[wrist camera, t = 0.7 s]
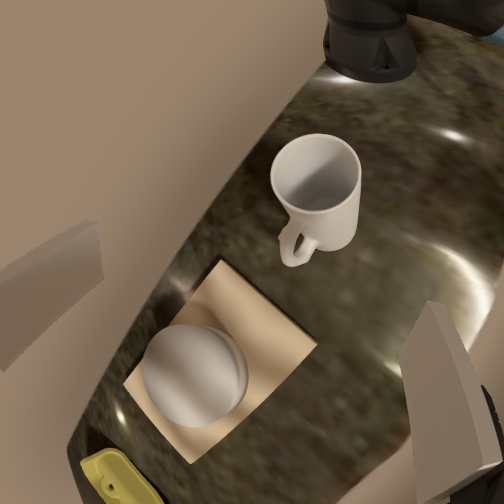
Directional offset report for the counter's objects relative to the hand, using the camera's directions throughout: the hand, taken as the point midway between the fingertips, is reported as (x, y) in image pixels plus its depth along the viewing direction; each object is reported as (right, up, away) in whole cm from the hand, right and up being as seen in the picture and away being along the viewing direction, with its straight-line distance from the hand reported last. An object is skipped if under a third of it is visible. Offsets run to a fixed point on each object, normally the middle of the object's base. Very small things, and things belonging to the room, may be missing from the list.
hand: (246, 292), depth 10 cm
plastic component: (-17, -38, +19) cm, 46 cm away
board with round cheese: (-5, -12, +21) cm, 25 cm away
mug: (+8, +3, +21) cm, 22 cm away
